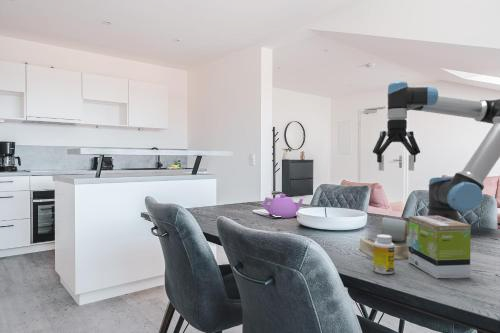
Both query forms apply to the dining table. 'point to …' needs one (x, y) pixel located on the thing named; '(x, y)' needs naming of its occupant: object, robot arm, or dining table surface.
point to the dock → (399, 248)
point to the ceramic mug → (395, 229)
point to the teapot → (282, 206)
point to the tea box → (440, 246)
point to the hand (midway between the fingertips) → (396, 170)
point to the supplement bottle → (383, 255)
